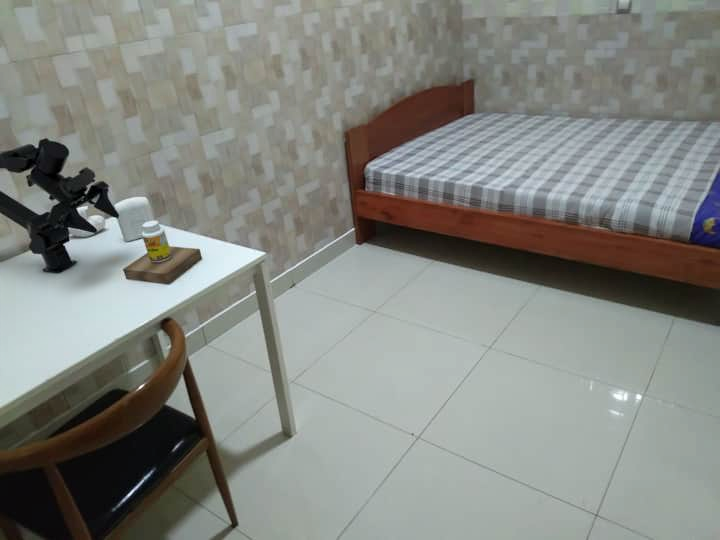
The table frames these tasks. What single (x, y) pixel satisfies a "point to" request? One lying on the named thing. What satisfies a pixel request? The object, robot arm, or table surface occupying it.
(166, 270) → the walnut stand
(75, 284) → the table surface
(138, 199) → the photo printer
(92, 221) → the bust
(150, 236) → the supplement bottle
